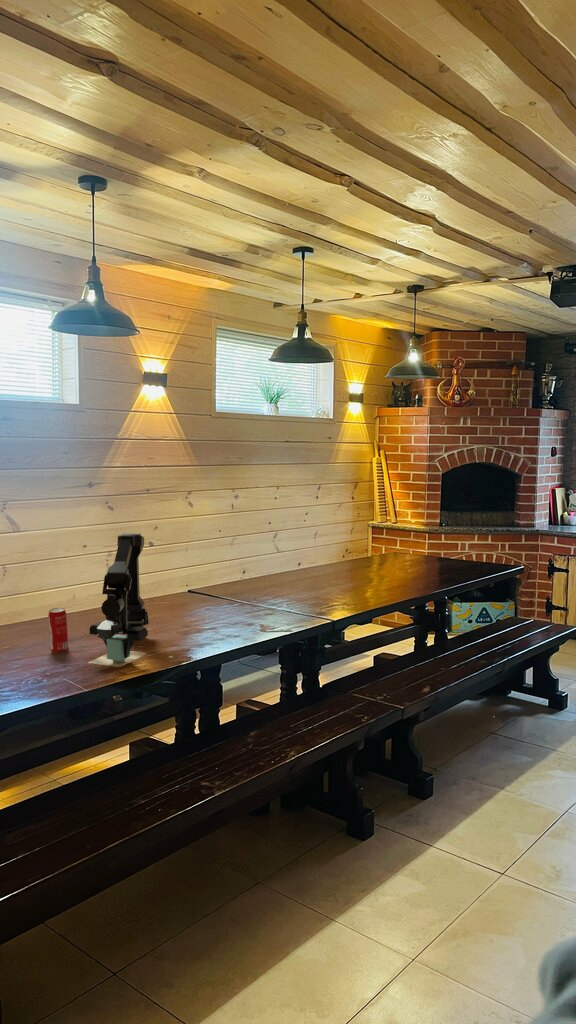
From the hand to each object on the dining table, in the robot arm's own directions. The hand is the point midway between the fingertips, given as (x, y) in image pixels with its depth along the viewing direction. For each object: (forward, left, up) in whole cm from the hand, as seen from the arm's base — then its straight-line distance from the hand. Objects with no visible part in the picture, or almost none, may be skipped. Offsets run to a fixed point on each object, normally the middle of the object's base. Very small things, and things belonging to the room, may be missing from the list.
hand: (118, 656), depth 229 cm
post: (0, 0, -2) cm, 2 cm away
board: (-4, -3, -3) cm, 6 cm away
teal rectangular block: (0, 0, 0) cm, 0 cm away
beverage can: (-4, -27, -3) cm, 27 cm away
